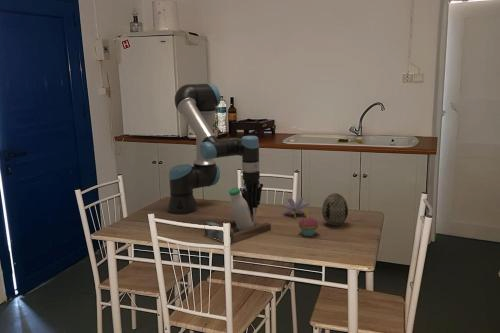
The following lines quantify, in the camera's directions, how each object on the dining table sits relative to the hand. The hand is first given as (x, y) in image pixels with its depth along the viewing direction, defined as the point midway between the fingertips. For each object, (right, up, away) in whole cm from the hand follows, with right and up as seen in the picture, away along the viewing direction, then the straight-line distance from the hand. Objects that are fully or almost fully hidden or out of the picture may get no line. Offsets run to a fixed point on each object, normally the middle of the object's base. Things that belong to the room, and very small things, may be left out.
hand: (252, 221), depth 204 cm
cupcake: (+24, -5, -9) cm, 26 cm away
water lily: (+21, 0, +18) cm, 28 cm away
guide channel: (-6, -4, -5) cm, 9 cm away
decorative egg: (+38, -2, +3) cm, 38 cm away
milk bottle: (-3, -3, -2) cm, 5 cm away
